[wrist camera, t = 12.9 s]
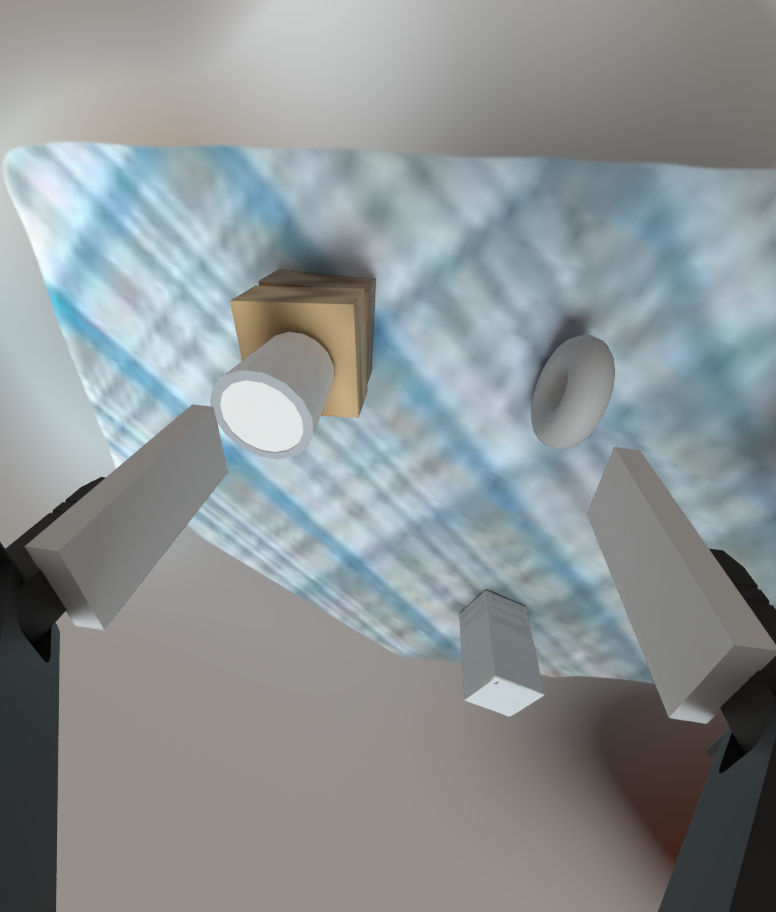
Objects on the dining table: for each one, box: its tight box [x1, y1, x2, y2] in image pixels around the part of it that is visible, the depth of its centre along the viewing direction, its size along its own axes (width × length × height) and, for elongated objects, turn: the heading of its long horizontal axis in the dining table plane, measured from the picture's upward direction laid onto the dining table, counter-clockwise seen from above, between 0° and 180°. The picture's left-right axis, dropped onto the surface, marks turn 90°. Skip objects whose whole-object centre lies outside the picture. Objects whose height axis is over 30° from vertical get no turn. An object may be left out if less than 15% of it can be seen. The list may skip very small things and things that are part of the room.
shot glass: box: [210, 332, 334, 459], centre depth 29 cm, size 7×7×7 cm
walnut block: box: [259, 270, 376, 384], centre depth 38 cm, size 9×9×5 cm
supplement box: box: [459, 590, 545, 716], centre depth 56 cm, size 7×7×13 cm
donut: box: [531, 335, 615, 449], centre depth 36 cm, size 10×3×10 cm, turn 168°
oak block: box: [230, 286, 367, 418], centre depth 34 cm, size 9×9×5 cm
